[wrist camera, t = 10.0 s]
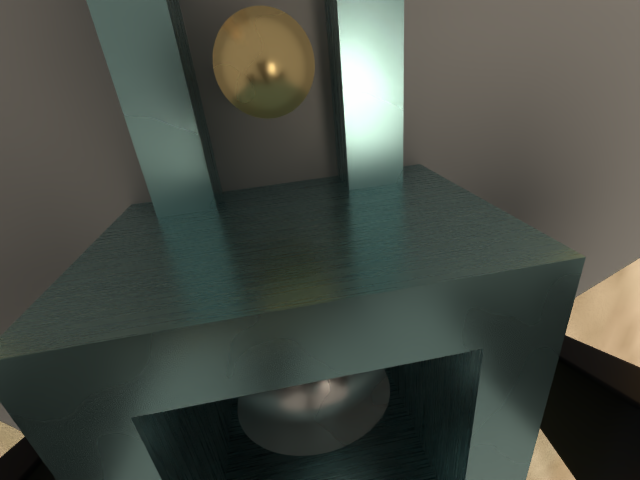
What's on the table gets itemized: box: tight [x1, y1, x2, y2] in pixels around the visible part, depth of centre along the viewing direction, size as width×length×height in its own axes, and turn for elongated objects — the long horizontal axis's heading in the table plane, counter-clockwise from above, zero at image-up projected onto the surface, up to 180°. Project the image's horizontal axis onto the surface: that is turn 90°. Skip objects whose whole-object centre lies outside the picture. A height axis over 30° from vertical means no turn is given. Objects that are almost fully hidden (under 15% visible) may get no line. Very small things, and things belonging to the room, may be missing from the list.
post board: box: [0, 0, 640, 431], centre depth 10 cm, size 20×16×1 cm
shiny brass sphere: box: [213, 6, 315, 119], centre depth 6 cm, size 2×2×2 cm
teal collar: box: [0, 0, 586, 480], centre depth 7 cm, size 12×7×5 cm, turn 5°
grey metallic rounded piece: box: [238, 368, 390, 456], centre depth 8 cm, size 3×3×4 cm
